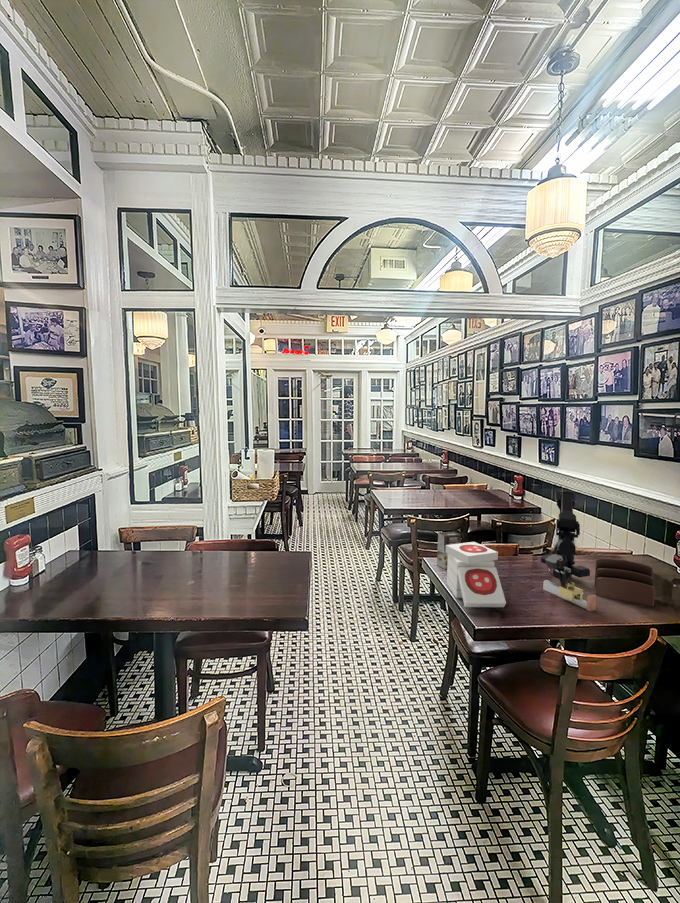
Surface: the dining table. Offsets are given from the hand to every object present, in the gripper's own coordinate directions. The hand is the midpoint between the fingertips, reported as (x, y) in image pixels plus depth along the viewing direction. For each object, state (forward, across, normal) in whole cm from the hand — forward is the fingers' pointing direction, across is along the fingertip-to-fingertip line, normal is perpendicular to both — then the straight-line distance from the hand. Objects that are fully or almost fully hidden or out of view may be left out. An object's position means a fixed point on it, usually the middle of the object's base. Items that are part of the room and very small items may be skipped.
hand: (562, 585), depth 173 cm
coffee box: (+6, -46, -21) cm, 51 cm away
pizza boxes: (+5, -14, -33) cm, 36 cm away
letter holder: (+5, +8, +24) cm, 26 cm away
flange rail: (+5, +2, -4) cm, 6 cm away
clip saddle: (+3, +4, 0) cm, 5 cm away
